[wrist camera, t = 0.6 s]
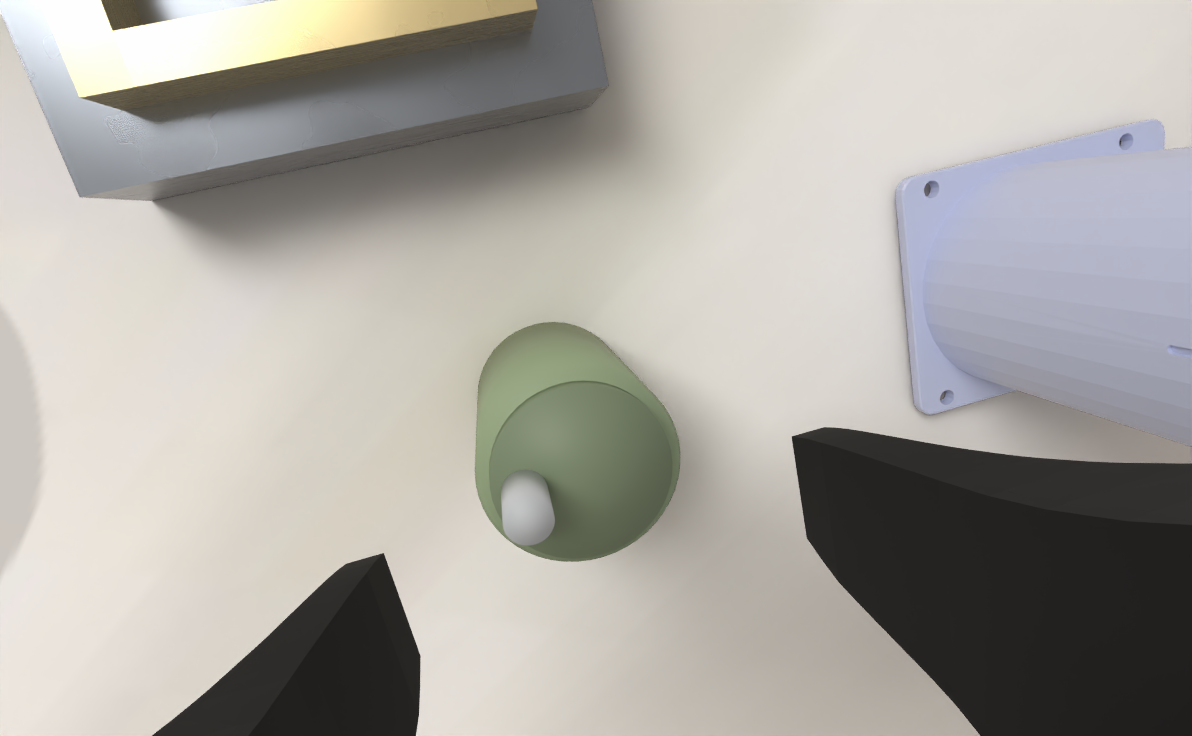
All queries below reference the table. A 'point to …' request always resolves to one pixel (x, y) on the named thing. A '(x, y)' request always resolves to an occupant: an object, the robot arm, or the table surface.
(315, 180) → the table surface
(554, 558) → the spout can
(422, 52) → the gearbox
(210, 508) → the table surface
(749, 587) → the table surface
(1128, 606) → the robot arm
